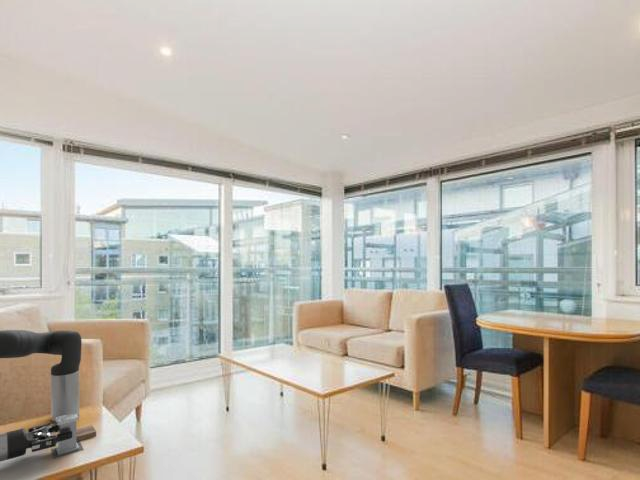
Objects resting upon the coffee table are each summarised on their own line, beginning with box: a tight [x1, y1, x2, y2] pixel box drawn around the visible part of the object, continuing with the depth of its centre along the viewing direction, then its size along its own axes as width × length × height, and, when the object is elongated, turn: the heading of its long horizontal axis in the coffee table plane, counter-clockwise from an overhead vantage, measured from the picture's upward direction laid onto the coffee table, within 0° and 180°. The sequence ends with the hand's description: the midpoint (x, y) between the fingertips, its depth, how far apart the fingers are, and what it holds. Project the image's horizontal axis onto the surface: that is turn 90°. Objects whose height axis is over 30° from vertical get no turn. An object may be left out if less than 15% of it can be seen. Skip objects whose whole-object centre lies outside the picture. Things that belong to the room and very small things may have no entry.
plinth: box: [76, 424, 97, 442], centre depth 137 cm, size 7×7×2 cm
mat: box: [50, 440, 85, 460], centre depth 127 cm, size 8×8×1 cm
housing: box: [55, 413, 80, 456], centre depth 128 cm, size 6×6×10 cm
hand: (70, 429), depth 128 cm, fingers open, 8 cm apart
